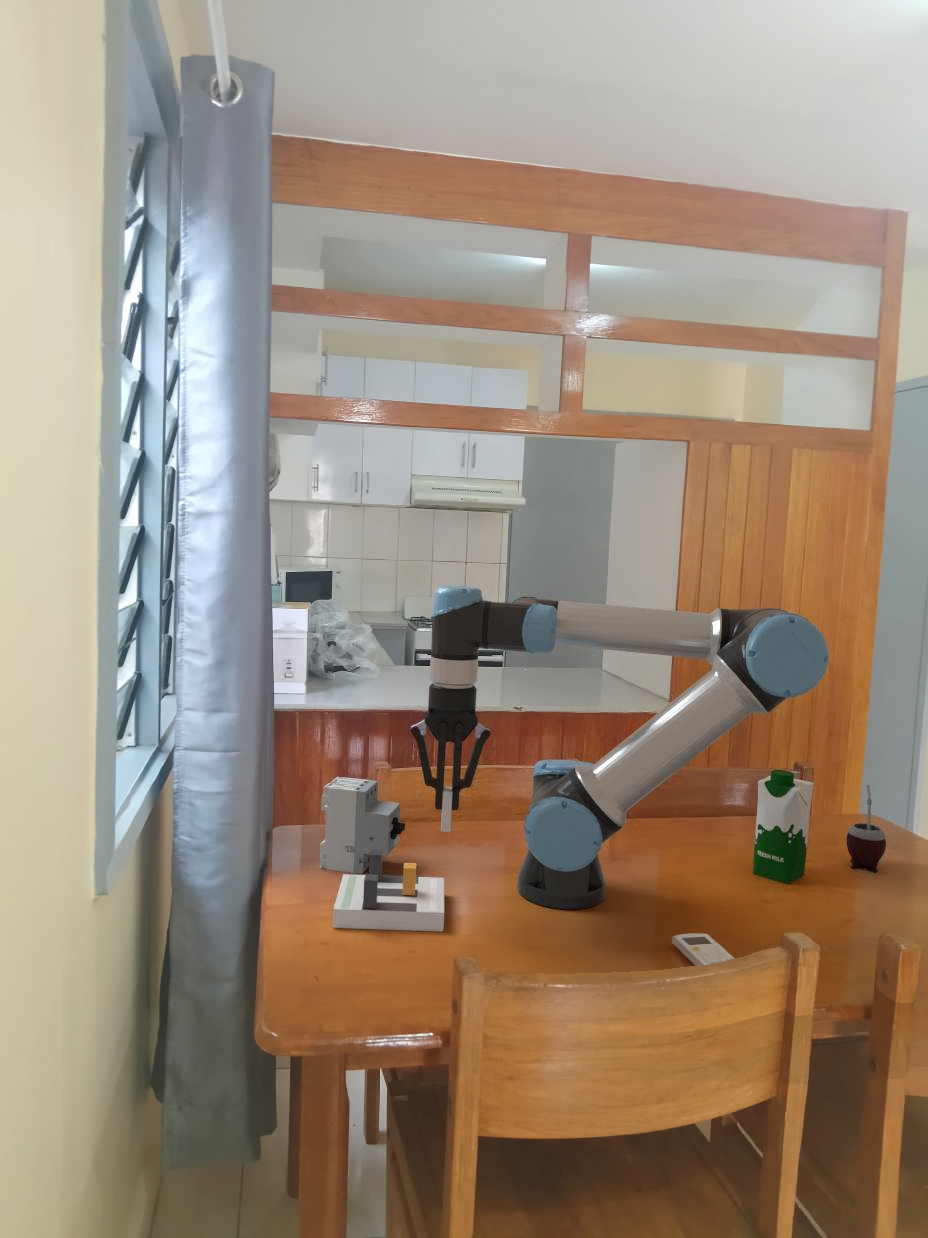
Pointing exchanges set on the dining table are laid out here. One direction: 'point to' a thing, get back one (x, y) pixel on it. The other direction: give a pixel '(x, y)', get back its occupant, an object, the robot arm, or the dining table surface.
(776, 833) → the milk carton
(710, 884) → the dining table surface
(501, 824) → the dining table surface
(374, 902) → the block
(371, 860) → the block
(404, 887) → the block
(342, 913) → the panel
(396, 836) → the circuit breaker
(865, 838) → the mate gourd
